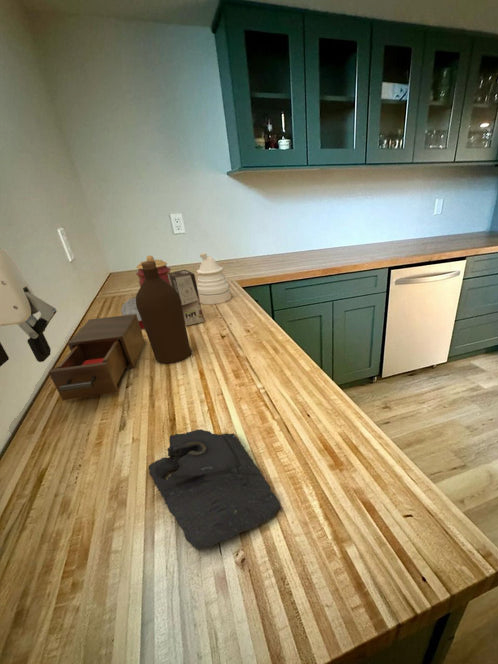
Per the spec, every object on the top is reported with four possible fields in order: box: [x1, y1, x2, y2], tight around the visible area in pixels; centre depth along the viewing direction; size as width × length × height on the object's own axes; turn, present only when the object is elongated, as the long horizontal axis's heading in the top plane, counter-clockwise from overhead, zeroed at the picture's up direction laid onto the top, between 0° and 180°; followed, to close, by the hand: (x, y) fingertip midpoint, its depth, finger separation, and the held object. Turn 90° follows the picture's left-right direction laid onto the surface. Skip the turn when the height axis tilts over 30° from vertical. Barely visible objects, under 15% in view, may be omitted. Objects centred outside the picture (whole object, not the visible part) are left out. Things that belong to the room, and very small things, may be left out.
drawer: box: [48, 340, 128, 401], centre depth 78 cm, size 20×11×7 cm, turn 12°
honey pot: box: [196, 252, 232, 305], centre depth 131 cm, size 13×13×18 cm
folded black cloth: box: [148, 429, 282, 551], centre depth 51 cm, size 15×22×5 cm
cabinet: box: [67, 314, 146, 370], centre depth 91 cm, size 17×13×9 cm
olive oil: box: [135, 260, 192, 364], centre depth 86 cm, size 11×11×25 cm
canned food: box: [120, 296, 145, 330], centre depth 114 cm, size 11×10×10 cm
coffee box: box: [167, 269, 205, 327], centre depth 112 cm, size 9×6×16 cm
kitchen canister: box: [135, 255, 172, 288], centre depth 134 cm, size 13×13×18 cm
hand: (23, 360), depth 54 cm, fingers open, 5 cm apart
